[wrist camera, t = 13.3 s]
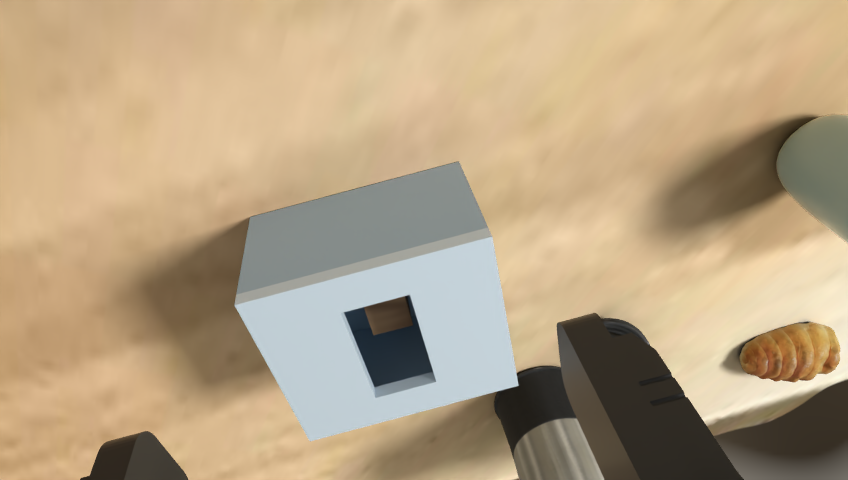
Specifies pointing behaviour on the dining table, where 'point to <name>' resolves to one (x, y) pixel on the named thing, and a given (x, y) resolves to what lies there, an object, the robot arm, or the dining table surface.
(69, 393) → the dining table surface
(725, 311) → the dining table surface
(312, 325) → the box
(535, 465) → the milk frother
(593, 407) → the robot arm
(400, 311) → the wooden rectangular block
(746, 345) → the pastry
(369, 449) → the dining table surface
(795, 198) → the cup
